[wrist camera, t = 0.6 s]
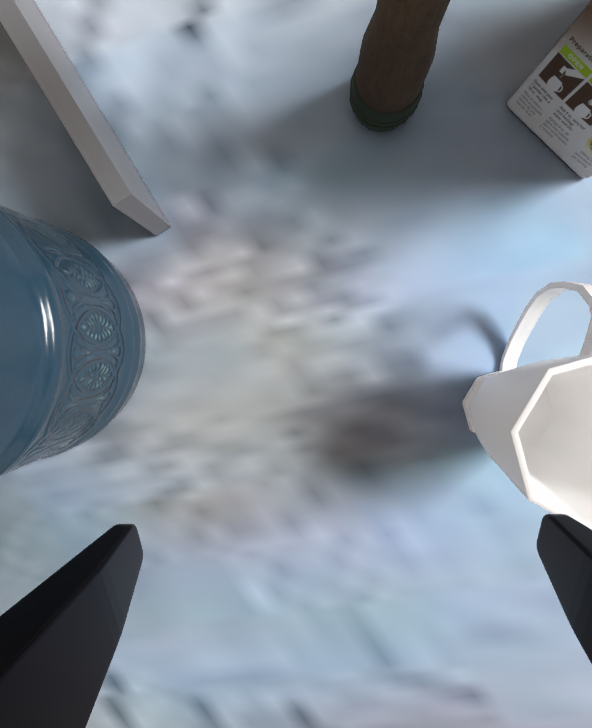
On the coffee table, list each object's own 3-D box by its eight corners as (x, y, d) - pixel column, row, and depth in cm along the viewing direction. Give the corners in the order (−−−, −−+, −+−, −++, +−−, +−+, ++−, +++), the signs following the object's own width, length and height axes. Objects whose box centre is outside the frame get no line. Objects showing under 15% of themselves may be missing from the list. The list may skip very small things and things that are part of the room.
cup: (430, 459, 23) (497, 524, 15) (454, 286, 22) (538, 255, 14) (553, 473, 22) (689, 548, 14) (580, 299, 22) (738, 276, 14)
